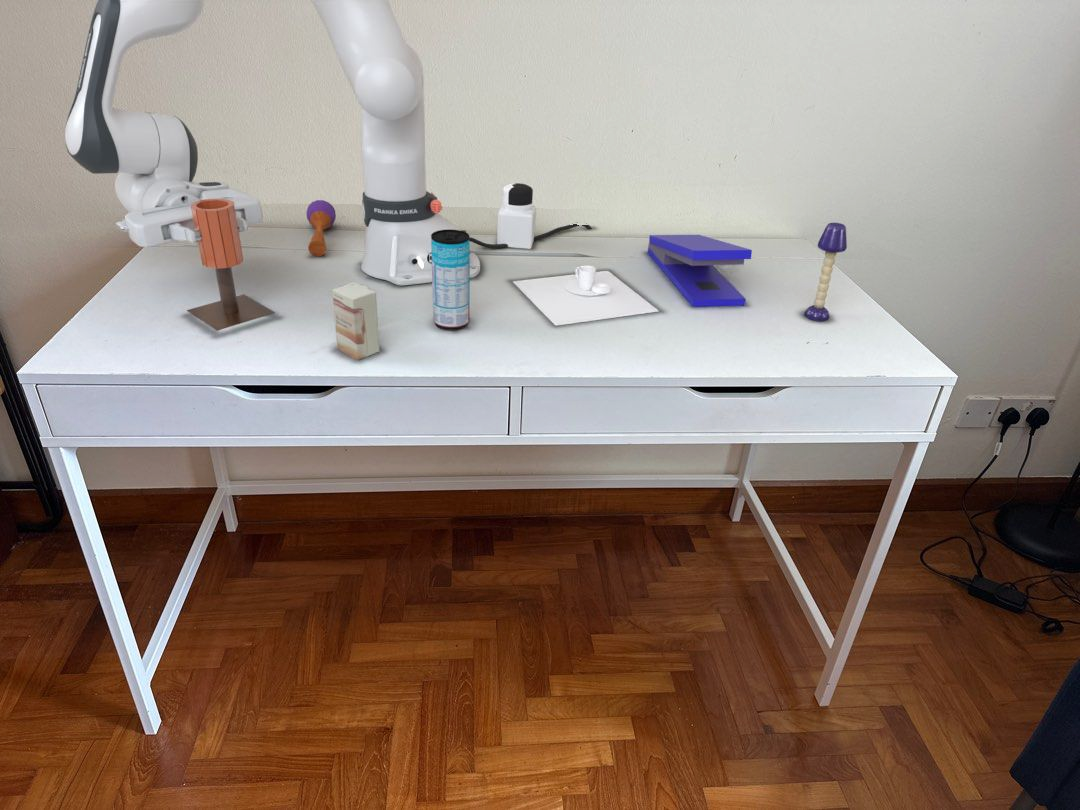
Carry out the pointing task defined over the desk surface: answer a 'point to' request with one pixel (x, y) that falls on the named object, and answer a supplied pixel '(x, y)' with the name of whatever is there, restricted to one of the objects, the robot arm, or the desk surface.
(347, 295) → the white product box
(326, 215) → the kendama
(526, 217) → the medicine bottle
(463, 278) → the beverage can
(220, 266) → the orange slatted tube
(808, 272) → the desk surface
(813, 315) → the toy lamp
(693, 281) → the stapler
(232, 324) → the holder
